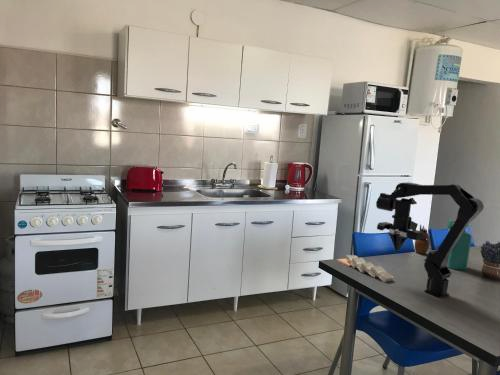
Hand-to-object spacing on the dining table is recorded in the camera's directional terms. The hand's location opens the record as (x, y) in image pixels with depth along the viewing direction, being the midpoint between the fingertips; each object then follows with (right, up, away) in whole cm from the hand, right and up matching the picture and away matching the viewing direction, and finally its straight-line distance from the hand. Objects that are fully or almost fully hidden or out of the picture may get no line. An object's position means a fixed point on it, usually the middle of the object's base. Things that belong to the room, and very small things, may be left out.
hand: (397, 251), depth 170 cm
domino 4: (-7, -10, +3) cm, 13 cm away
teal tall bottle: (+36, -12, +27) cm, 47 cm away
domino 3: (-10, -9, +8) cm, 16 cm away
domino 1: (-14, -9, +15) cm, 23 cm away
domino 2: (-12, -9, +13) cm, 19 cm away
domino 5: (-4, -11, -1) cm, 12 cm away
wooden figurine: (+28, -8, +47) cm, 55 cm away
